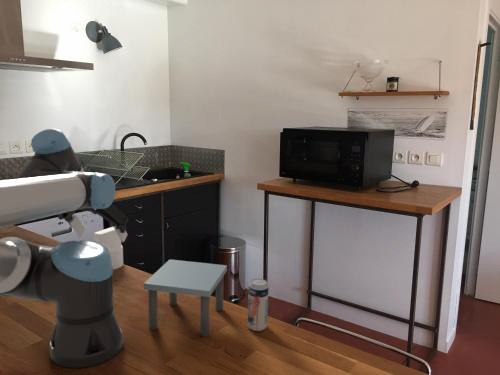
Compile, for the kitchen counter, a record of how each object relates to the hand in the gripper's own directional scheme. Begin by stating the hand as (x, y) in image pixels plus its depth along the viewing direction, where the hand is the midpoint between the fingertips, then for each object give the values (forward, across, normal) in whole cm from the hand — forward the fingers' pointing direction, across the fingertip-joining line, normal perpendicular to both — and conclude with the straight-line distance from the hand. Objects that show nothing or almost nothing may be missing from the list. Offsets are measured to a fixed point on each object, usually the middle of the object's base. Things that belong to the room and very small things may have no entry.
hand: (103, 235), depth 123 cm
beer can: (+7, -48, +17) cm, 51 cm away
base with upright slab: (+22, +8, -3) cm, 24 cm away
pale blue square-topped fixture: (+7, -30, +17) cm, 35 cm away
